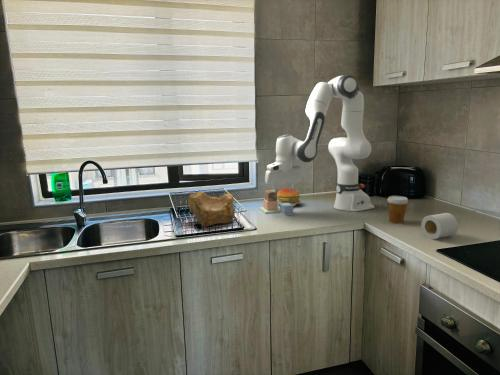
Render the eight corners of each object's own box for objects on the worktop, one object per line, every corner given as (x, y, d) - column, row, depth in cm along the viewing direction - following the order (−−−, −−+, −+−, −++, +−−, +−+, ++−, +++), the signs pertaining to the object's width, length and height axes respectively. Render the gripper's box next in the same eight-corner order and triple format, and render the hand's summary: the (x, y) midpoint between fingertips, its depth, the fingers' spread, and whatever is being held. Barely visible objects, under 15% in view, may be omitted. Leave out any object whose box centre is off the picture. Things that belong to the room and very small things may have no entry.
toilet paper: (436, 231, 165) (439, 210, 163) (456, 238, 156) (459, 216, 154) (420, 235, 161) (422, 213, 159) (439, 242, 152) (441, 219, 150)
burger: (273, 203, 218) (273, 187, 216) (293, 201, 223) (294, 185, 220) (282, 209, 206) (282, 191, 204) (304, 206, 210) (304, 189, 208)
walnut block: (272, 198, 205) (272, 189, 204) (276, 200, 200) (276, 191, 199) (264, 199, 204) (264, 190, 203) (268, 201, 198) (268, 192, 197)
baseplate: (275, 207, 209) (275, 205, 209) (282, 211, 200) (282, 210, 200) (258, 209, 206) (258, 207, 206) (265, 213, 197) (265, 212, 196)
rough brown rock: (185, 231, 174) (184, 201, 169) (189, 217, 189) (188, 190, 185) (234, 231, 175) (234, 201, 170) (234, 218, 190) (234, 190, 186)
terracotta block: (273, 206, 206) (273, 198, 205) (277, 209, 201) (277, 200, 200) (263, 207, 205) (263, 199, 203) (267, 210, 199) (267, 201, 198)
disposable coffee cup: (410, 221, 180) (412, 197, 178) (401, 225, 174) (403, 201, 171) (391, 217, 187) (393, 194, 184) (382, 221, 181) (383, 197, 178)
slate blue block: (288, 211, 201) (288, 202, 200) (293, 214, 195) (293, 205, 194) (279, 212, 199) (280, 203, 198) (284, 215, 194) (284, 206, 193)
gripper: (299, 164, 199) (298, 189, 202) (263, 165, 193) (263, 191, 196) (304, 165, 193) (303, 191, 196) (268, 167, 187) (268, 194, 190)
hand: (283, 191), depth 196 cm, fingers open, 8 cm apart
